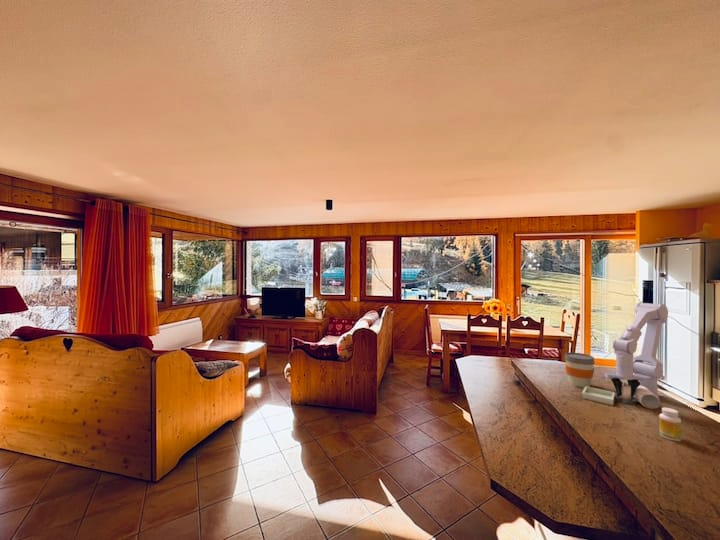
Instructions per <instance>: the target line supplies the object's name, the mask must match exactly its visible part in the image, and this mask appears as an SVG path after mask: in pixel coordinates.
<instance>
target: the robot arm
mask: <svg viewBox="0 0 720 540" xmlns="http://www.w3.org/2000/svg"><path fill="white" fill-rule="evenodd" d="M634 311H635V316H634V319H633V321H632V323H631V324H630V326H626V327H625V329H624V330H623V332H622V334H621V335H620V337H619V338H616V339H614V341H613V344H612V348H613V350H614V353H615V357H616V361H615V362H616V363H615V364H616V370H615V371H616V372H611V373H610V372H609V373H608V372H605V373H604V377H605V378H606V379H609V380H611V381H610V382H612V384H613V386H614V389H615V391H616V392H615V393H617V394H618V395H619V396H621V394H622V390H621V389H622V384H624V382H623V381H621V380H626V381H627V382H626V383H627V385H630V386H631V397H634V393H635V391H636V389H637V388H638V386H639V385H641V386H644V387H646V388H647V389H648V390H650V391H651V392H652V393H653V394H654V395H655V396H657V397H658V398H659V399H660V397H659V392H658V380H660V379H661V378H663V376H664V375H663V374H664V370H663V363H662V362H661V361H660V360H659V359H657V353H658V347H659V343H660V337H661V332H662V328H663V327H662V326H663V324H666V323H667V320H668V316H669V310H668V307H667V305H666V304H663V303H662V304H659V303H649V302H642V301H641V302H638V303H637V304H636V305H635V308H634ZM645 325H646V327H645V333H644V338H643V343H642V346H641V347H642V348H641V353H640V354H638V355H636V356H634V354H635V353H636V351H637V347H638V341H639V339H640V338H641V336H642V333H643V332H642V331H641V330H642V329H643V327H644V326H645Z"/></svg>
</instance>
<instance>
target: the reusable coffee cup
mask: <svg viewBox="0 0 720 540" xmlns="http://www.w3.org/2000/svg"><path fill="white" fill-rule="evenodd" d="M564 360H565V370H566V374H567V379H568V383H569V384H570V385H571V386H573V387H577V388H583V389H584V388H585V386H588V387H591V384H592V380H593V379H592V378H594V372H595V368H594V366H595V357H594V356H592V355H589V354H586V353H581V352H580V353H579V352H566V353H564Z"/></svg>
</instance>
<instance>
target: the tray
mask: <svg viewBox="0 0 720 540" xmlns="http://www.w3.org/2000/svg"><path fill="white" fill-rule="evenodd" d="M615 393H616V392H614V391H609V390H605V389H600V388H596V387H591V386H590V387H588V386H585V388H583V390H582V391H581V399H583V400H584V399H585V400H588V401H592V402H597V403H601V404H604V405H608V406H614V403H615V401H616V400H615Z"/></svg>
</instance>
